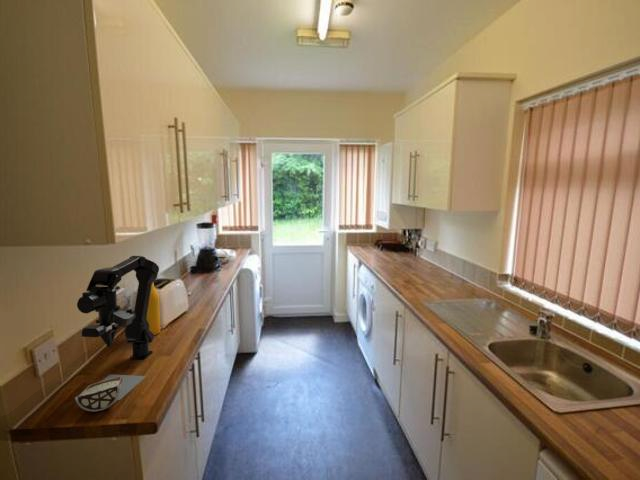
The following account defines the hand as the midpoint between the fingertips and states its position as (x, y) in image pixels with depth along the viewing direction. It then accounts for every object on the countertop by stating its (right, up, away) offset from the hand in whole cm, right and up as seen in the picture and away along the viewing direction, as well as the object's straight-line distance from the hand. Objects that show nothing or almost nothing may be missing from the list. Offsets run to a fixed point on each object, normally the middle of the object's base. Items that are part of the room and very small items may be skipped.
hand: (109, 346), depth 122 cm
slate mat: (+4, -13, -4) cm, 14 cm away
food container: (+5, -11, -9) cm, 15 cm away
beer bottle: (-7, -7, +43) cm, 44 cm away
